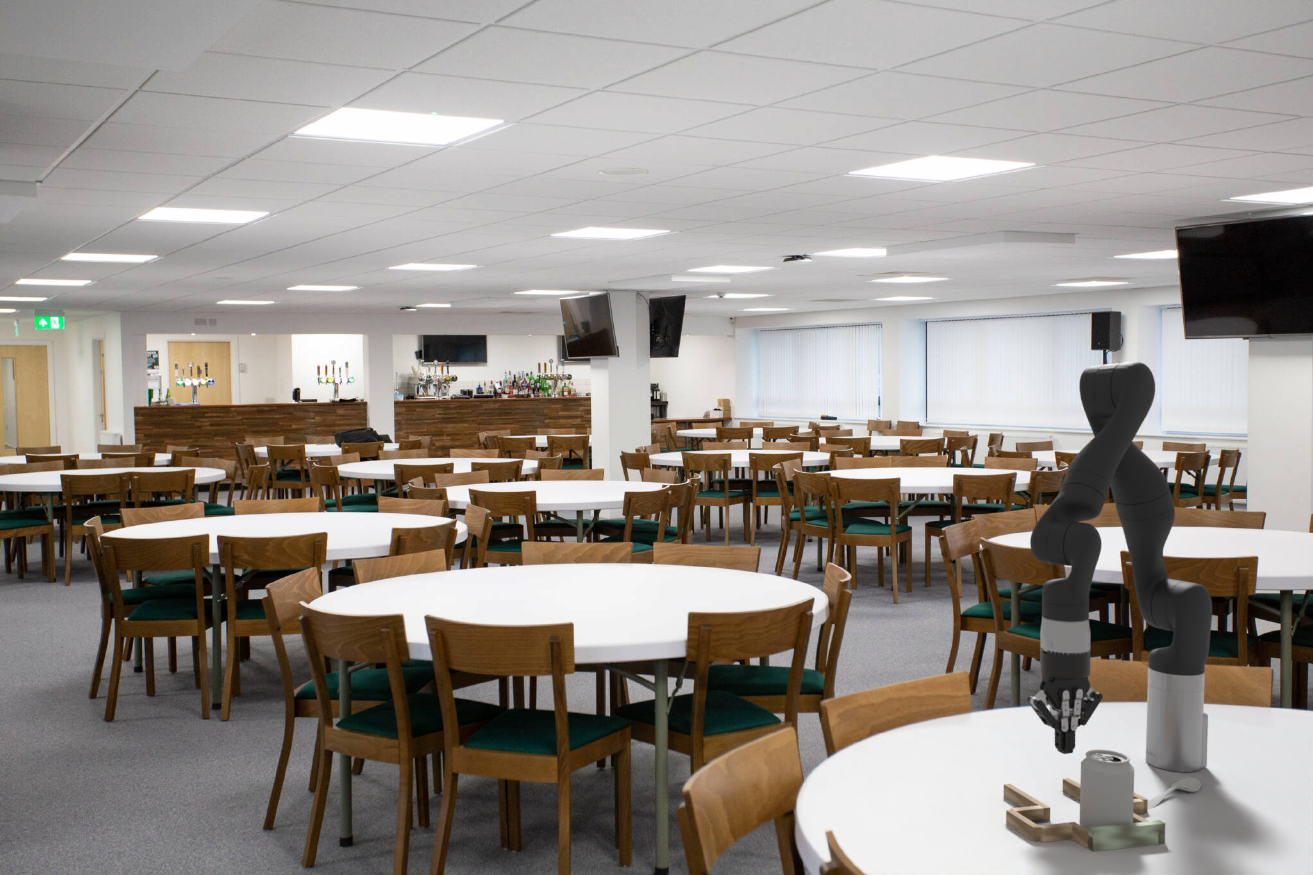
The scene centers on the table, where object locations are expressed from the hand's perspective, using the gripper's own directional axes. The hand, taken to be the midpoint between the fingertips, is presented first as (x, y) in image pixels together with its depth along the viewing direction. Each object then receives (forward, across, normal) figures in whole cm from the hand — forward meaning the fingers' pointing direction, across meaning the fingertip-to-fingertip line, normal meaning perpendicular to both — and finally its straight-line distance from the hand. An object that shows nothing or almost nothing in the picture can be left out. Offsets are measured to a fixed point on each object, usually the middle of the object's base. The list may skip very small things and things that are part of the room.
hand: (1064, 752), depth 179 cm
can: (+9, +1, +11) cm, 14 cm away
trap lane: (+9, +1, +5) cm, 10 cm away
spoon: (+10, -19, +1) cm, 21 cm away
